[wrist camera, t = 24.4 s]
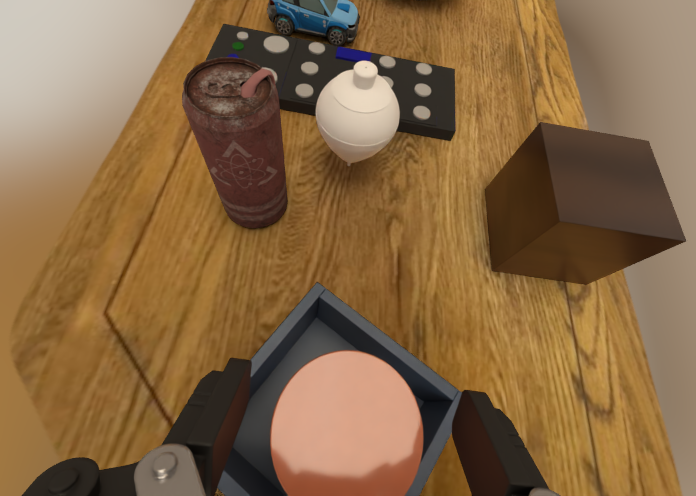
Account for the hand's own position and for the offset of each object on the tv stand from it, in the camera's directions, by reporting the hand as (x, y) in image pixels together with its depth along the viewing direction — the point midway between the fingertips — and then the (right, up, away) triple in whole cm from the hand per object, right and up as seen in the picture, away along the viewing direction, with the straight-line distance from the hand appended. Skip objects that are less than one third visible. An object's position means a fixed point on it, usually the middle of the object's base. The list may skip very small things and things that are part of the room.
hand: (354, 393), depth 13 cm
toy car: (-5, +36, +34) cm, 50 cm away
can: (-9, +10, +21) cm, 25 cm away
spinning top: (0, +14, +25) cm, 29 cm away
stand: (+20, +7, +23) cm, 31 cm away
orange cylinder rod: (-2, -8, +13) cm, 15 cm away
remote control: (-2, +26, +30) cm, 39 cm away
